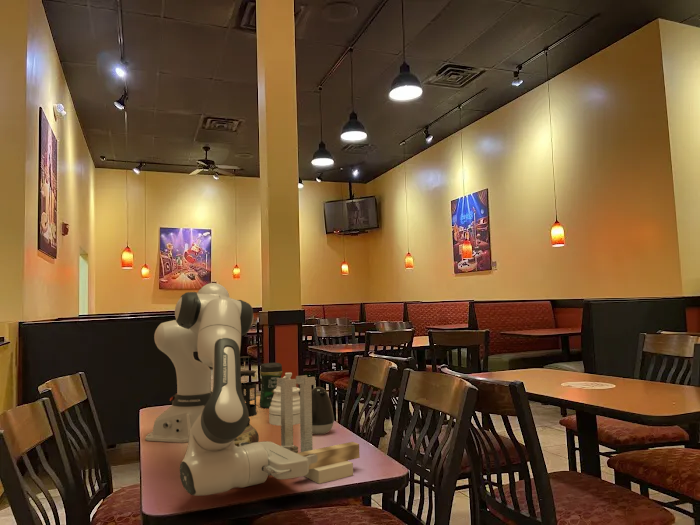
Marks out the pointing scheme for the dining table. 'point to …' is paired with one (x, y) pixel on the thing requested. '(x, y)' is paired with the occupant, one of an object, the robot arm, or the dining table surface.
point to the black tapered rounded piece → (321, 411)
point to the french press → (248, 389)
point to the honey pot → (276, 405)
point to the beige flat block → (330, 472)
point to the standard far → (305, 411)
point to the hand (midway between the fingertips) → (306, 453)
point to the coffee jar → (269, 382)
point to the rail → (333, 454)
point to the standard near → (286, 410)
